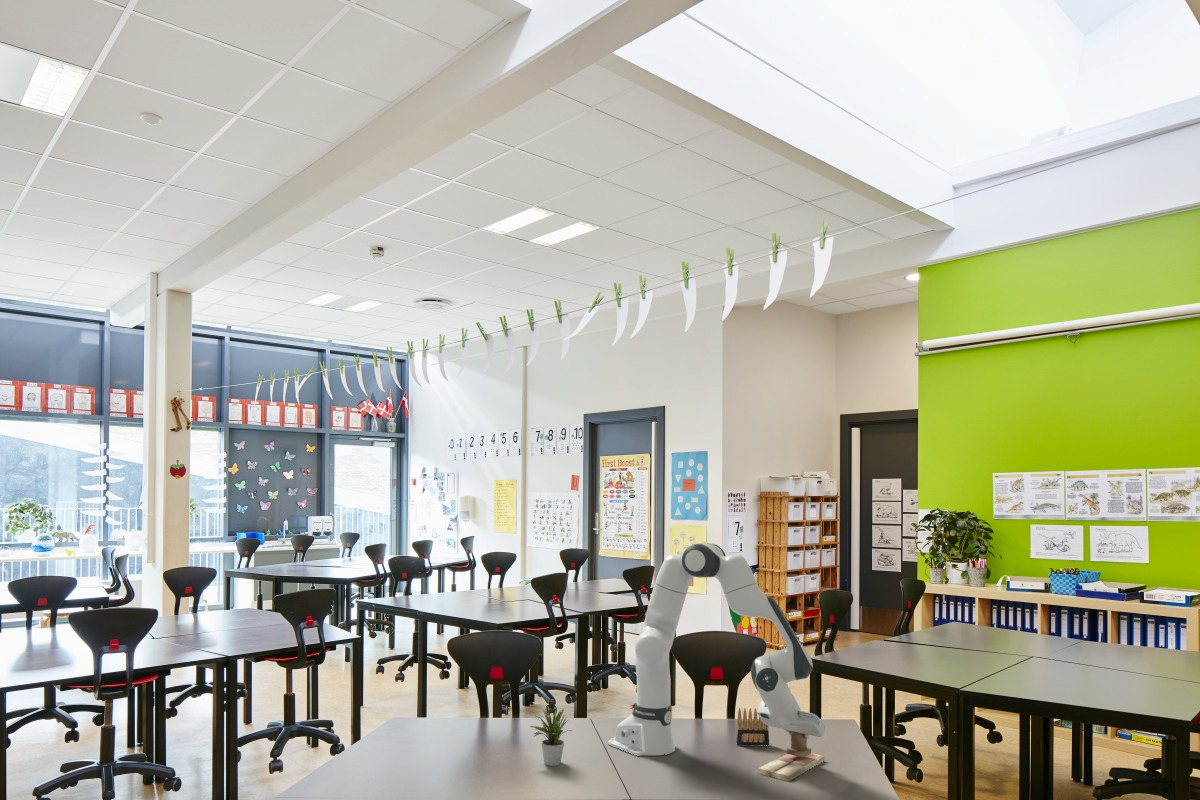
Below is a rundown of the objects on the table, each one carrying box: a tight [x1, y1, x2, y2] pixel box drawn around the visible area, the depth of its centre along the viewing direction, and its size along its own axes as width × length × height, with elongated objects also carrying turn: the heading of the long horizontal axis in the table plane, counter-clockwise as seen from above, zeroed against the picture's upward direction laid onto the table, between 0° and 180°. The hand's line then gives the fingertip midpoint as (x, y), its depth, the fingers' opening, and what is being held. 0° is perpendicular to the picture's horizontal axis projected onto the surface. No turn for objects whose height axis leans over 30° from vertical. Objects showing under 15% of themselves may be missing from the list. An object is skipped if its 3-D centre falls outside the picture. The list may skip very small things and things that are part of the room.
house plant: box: [529, 707, 573, 767], centre depth 262 cm, size 14×14×16 cm
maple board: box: [757, 752, 825, 782], centre depth 259 cm, size 10×24×2 cm, turn 140°
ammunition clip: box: [736, 707, 770, 747], centre depth 281 cm, size 11×2×12 cm, turn 89°
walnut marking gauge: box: [786, 731, 812, 757], centre depth 263 cm, size 6×6×11 cm
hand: (799, 735), depth 264 cm, fingers closed on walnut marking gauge, 3 cm apart
